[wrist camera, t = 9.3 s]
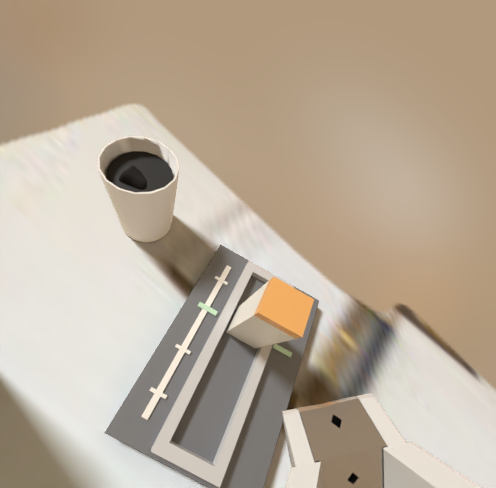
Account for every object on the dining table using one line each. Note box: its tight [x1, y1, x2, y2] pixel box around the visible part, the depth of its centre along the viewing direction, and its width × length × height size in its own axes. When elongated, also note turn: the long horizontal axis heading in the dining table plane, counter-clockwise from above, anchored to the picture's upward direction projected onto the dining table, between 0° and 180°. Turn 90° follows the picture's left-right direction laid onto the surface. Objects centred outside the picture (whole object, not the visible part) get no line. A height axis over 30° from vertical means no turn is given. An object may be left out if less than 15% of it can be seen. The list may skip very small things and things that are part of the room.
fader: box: [226, 277, 314, 348], centre depth 22 cm, size 3×4×10 cm
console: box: [105, 245, 319, 488], centre depth 26 cm, size 20×14×2 cm
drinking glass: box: [98, 136, 179, 242], centre depth 26 cm, size 7×7×10 cm
